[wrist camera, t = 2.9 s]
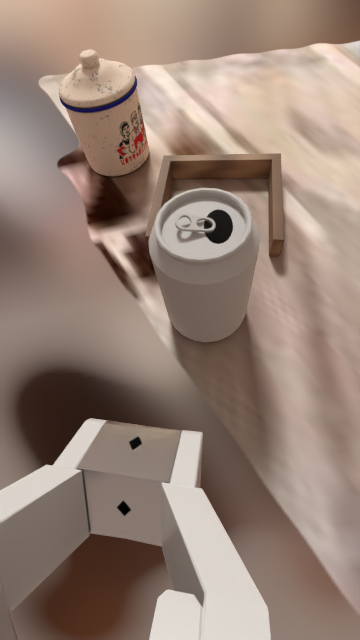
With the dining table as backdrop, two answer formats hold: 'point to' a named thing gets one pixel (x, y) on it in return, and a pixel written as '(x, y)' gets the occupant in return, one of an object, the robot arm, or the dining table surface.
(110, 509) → the robot arm
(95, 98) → the teacup with lid
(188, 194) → the can
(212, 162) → the frame
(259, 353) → the dining table surface
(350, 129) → the dining table surface
